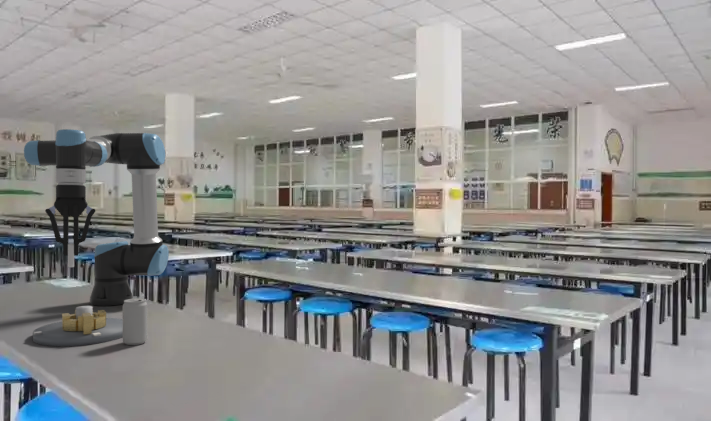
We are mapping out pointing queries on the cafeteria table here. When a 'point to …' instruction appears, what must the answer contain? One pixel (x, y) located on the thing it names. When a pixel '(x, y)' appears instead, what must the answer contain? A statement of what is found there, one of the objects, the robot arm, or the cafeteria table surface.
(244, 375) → the cafeteria table surface
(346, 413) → the cafeteria table surface
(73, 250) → the robot arm
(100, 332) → the flange
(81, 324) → the ring nut
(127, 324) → the beverage can
